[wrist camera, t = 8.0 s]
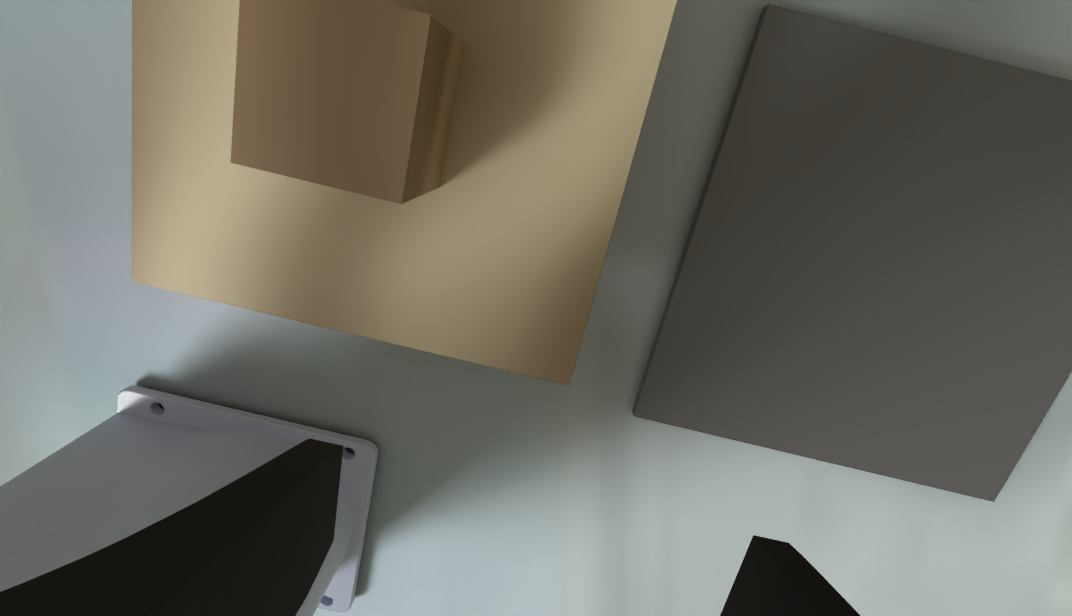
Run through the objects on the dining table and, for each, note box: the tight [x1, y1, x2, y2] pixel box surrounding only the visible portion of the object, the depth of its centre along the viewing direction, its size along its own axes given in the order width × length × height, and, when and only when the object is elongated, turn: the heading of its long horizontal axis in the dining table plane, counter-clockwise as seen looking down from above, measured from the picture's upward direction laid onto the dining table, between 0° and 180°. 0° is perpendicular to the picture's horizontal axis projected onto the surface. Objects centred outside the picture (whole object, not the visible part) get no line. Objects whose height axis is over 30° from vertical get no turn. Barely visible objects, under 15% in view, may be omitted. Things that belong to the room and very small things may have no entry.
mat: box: [632, 4, 1072, 502], centre depth 17 cm, size 13×13×1 cm
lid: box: [132, 0, 677, 386], centre depth 11 cm, size 11×11×4 cm
